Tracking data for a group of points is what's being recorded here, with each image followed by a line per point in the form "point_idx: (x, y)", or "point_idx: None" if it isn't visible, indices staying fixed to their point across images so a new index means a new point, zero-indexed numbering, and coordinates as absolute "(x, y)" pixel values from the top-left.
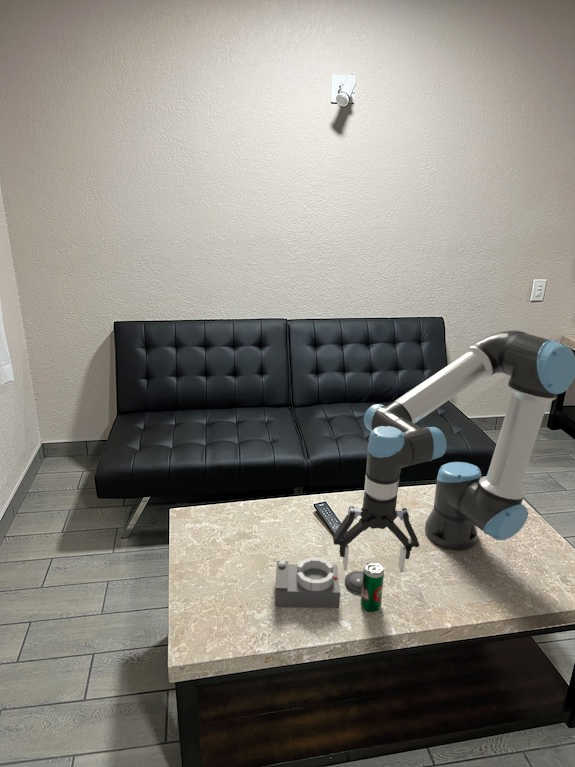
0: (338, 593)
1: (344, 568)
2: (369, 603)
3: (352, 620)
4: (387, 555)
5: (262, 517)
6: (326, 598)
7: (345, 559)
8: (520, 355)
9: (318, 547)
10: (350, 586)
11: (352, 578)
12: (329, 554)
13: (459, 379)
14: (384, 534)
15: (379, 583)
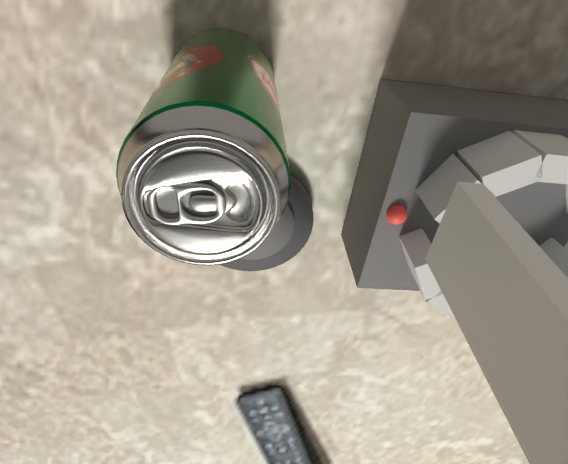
0: (417, 110)
1: (488, 193)
2: (242, 45)
3: None
4: (114, 335)
5: (480, 451)
6: (465, 104)
7: (540, 258)
8: None
9: (357, 366)
10: (297, 196)
11: (279, 235)
12: (329, 341)
13: None
14: (118, 409)
15: (170, 88)
